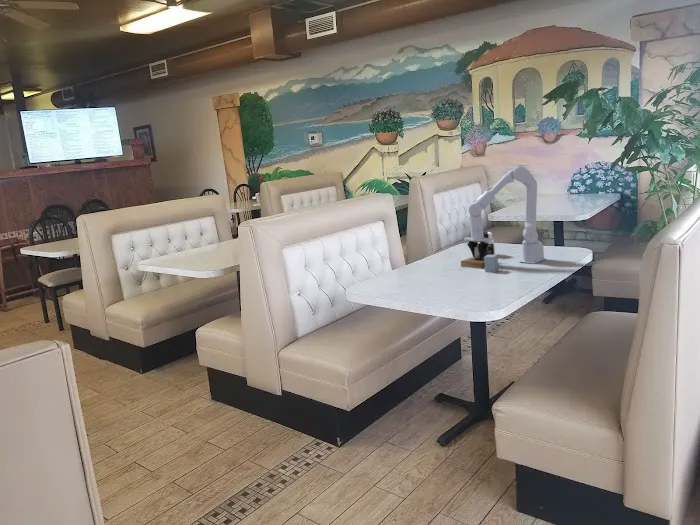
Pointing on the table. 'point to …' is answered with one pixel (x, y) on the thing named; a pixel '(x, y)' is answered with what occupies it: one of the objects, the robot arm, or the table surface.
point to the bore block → (473, 263)
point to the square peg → (491, 263)
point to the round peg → (477, 253)
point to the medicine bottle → (489, 244)
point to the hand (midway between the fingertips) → (478, 257)
